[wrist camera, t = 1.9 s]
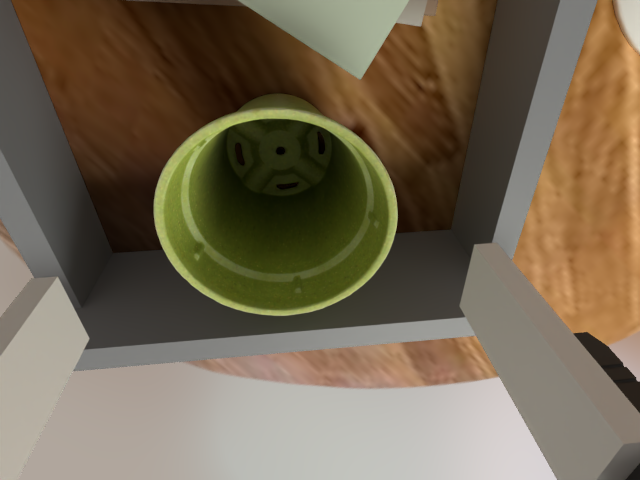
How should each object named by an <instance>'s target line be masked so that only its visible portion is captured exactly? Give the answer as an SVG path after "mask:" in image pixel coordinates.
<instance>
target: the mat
mask: <svg viewBox="0 0 640 480" xmlns="http://www.w3.org/2000/svg"><path fill="white" fill-rule="evenodd" d="M612 1H613V6H614V11H615V15H616V18H617V21H618V23H619V26H620V29H621V31H622V33H623V35H624V36H625V38H626V40H627V41H628V43H629V44H630V46H631V47H632V48H633V49H634V50H635V51H636V52H637V53H638V54H639V55H640V0H612Z"/></svg>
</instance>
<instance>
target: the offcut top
mask: <svg viewBox="0 0 640 480" xmlns="http://www.w3.org/2000/svg"><path fill="white" fill-rule="evenodd" d="M238 1H240V2H241V3H243V4H244V5H246V6H247V7H249V8H250V9H252V10H253V11H255V12H256V13H258V14H260V15H261V16H263V17H264V18H266V19H267V20H269V21H270V22H272V23H273V24H275V25H276V26H278V27H280V28H281V29H283V30H284V31H286V32H287V33H289V34H290V35H292V36H293V37H295V38H296V39H298V40H300V41H301V42H303V43H304V44H306V45H307V46H309V47H310V48H312V49H313V50H315V51H317V52H318V53H320V54H321V55H323V56H324V57H326V58H327V59H329V60H330V61H332V62H333V63H335V64H337V65H338V66H340V67H341V68H343V69H344V70H346V71H347V72H349V73H350V74H352V75H353V76H355V77H357V78H358V79H360V80H361V78H362V77H363V75H364V73H365V72H366V70H367V68H368V67H369V65H370V63H371V62H372V60H373V59H374V57H375V55H376V54H377V52H378V50H379V49H380V47H381V46H382V44H383V42H384V41H385V39H386V37H387V36H388V34H389V32H390V31H391V29H392V28H393V26H394V24H395V23H396V21H397V19H398V18H399V16H400V15H401V13H402V11H403V10H404V8H405V6H406V5H407V3H408V2H409V0H238Z"/></svg>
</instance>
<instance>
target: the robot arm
mask: <svg viewBox="0 0 640 480" xmlns="http://www.w3.org/2000/svg"><path fill="white" fill-rule="evenodd" d="M460 308H461V310H462V312H463V313H464V315H465V317H466V319H467V320H468V322H469V324H470V326H471V328H472V329H473V331H474V333H475V335H476V336H477V338H478V340H479V342H480V343H481V345H482V347H483V349H484V351H485V352H486V354H487V356H488V358H489V359H490V361H491V363H492V365H493V367H494V368H495V370H496V372H497V374H498V375H499V377H500V379H501V381H502V382H503V384H504V386H505V388H506V389H507V391H508V393H509V395H510V397H511V398H512V400H513V402H514V404H515V406H516V407H517V409H518V411H519V413H520V414H521V416H522V418H523V419H524V421H525V423H526V425H527V427H528V428H529V430H530V432H531V434H532V436H533V437H534V439H535V441H536V443H537V445H538V446H539V448H540V450H541V452H542V453H543V455H544V457H545V459H546V460H547V462H548V464H549V466H550V468H551V469H552V471H553V473H554V475H555V476H556V478H557V480H640V382H637V380H636V377H635V376H634V375H633V374H632V373H631V372H630V370H629V369H628V368H627V367H624V366H623V363H622V362H621V361H620V359H619V358H618V357H617V356H616V355H615V354H614V353H613V352H612V351H611V349H610V348H609V347H608V346H607V345H605V344H604V343H602V342H601V341H599V340H598V339H596V338H595V337H593V336H592V335H590V334H589V333H588V332H584V333H572V332H571V331H570V329H569V328H568V327H567V326H566V325H565V323H564V322H563V321H562V320H561V319H560V318H559V316H558V315H557V314H556V313H555V312H554V310H553V309H552V308H551V307H550V306H549V304H548V303H547V302H546V301H545V300H544V298H543V297H542V296H541V295H540V294H539V292H538V291H537V290H536V289H535V288H534V286H533V285H532V284H531V283H530V282H529V281H528V279H527V278H526V277H525V276H524V275H523V273H522V272H521V271H520V270H519V269H518V267H517V266H516V265H515V264H514V263H513V261H512V260H511V259H510V258H509V257H508V255H507V254H506V253H505V252H504V251H503V249H502V248H501V247H500V246H499V245H498V244H497V243H487V244H474V248H473V252H472V256H471V260H470V265H469V269H468V273H467V277H466V281H465V285H464V289H463V294H462V298H461V302H460ZM88 341H89V337H88V335H87V333H86V331H85V329H84V327H83V325H82V323H81V321H80V319H79V317H78V315H77V313H76V311H75V309H74V307H73V305H72V303H71V301H70V300H69V298H68V296H67V294H66V292H65V290H64V288H63V286H62V284H61V282H60V280H59V278H58V276H57V277H44V278H32V279H31V280H30V281H29V282H28V283H27V285H26V286H25V287H24V288H23V290H22V291H21V292H20V294H19V295H18V296H17V297H16V299H15V300H14V301H13V302H12V303H11V305H10V306H9V307H8V308H7V310H6V311H5V312H4V313H3V315H2V316H1V317H0V480H18V479H19V477H20V475H21V473H22V471H23V469H24V467H25V464H26V463H27V461H28V459H29V457H30V455H31V453H32V451H33V449H34V447H35V445H36V443H37V441H38V439H39V437H40V435H41V433H42V431H43V429H44V427H45V425H46V423H47V421H48V419H49V417H50V416H51V414H52V412H53V410H54V408H55V406H56V404H57V402H58V400H59V398H60V396H61V394H62V392H63V390H64V388H65V386H66V384H67V382H68V380H69V378H70V376H71V374H72V372H73V370H74V368H75V366H76V364H77V362H78V360H79V358H80V356H81V354H82V352H83V350H84V348H85V347H86V345H87V343H88Z"/></svg>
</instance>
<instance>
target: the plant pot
mask: <svg viewBox="0 0 640 480" xmlns="http://www.w3.org/2000/svg"><path fill="white" fill-rule="evenodd" d="M318 131H319V132H320V133H321V134H322V136H323V138H324V142H325V151H324V153H323V154H319V152H318V151H319V142H318V135H317V132H318ZM237 143H240V144H241V149H242V156H243V159H244V161H245V165H244V166H242V165H241V164H240V163H239V162H238V161H237V157H236V153H235V145H236V144H237ZM278 147H283V148H284V149H285V153H284V154H283V155H279V154H277V153H276V149H277V148H278ZM295 182H298V183H299V184H298V185H297V186H296V187H294V188H289V189H279V188H277V186H276V185H277V184H290V183H295ZM397 220H398V210H397V200H396V194H395V190H394V187H393V184H392V181H391V179H390V177H389V174H388V172H387V170H386V169H385V167H384V165H383V164H382V162H381V161H380V159H379V158H378V156H377V155H376V154H375V153H374V151H373V150H372V149H371V148H370V147H369V146H368V145H367V144H366V143H365V142H364V141H363V140H362V139H361V138H360V137H359V136H357V135H356V134H355V133H354V132H352V131H351V130H350V129H348V128H347V127H345V126H343V125H341V124H340V123H338V122H336V121H334V120H332V119H330V118H328V117H325V116H323V115H322V114H321V113H320V112H319V110H318V109H316V108H315V107H314V106H313V105H311V104H310V103H308V102H307V101H305V100H303V99H301V98H299V97H296V96H293V95H287V94H279V93H277V94H268V95H264V96H260V97H258V98H255V99H253V100H251V101H249V102H248V103H246V104H245V105H243V106H242V107H241V108H240V109H239V110H238V111H237V112H235V113H231V114H228V115H225V116H223V117H220V118H218V119H216V120H214V121H212V122H210V123H208V124H206V125H205V126H203V127H201V128H200V129H199V130H197V131H196V132H195V133H193V134H192V135H191V136H189V137H188V138H187V139H186V140H185V141H184V142H183V143H182V144H181V145H180V146H179V147H178V148H177V149H176V151H175V152H174V153H173V155H172V156H171V157H170V159H169V160H168V162H167V163H166V165H165V167H164V169H163V170H162V173H161V175H160V177H159V180H158V183H157V186H156V190H155V197H154V221H155V227H156V231H157V235H158V237H159V240H160V243H161V245H162V247H163V250H164V251H165V253H166V255H167V257H168V259H169V260H170V262H171V263H172V265H173V266H174V267H175V269H176V270H177V271H178V272H179V273H180V275H181V276H182V277H183V278H184V279H186V280H187V281H188V282H189V283H190V284H191V285H192V286H193V287H195V288H196V289H197V290H199V291H200V292H201V293H203V294H204V295H206V296H208V297H210V298H212V299H214V300H215V301H217V302H219V303H221V304H223V305H225V306H228V307H231V308H234V309H237V310H241V311H244V312H249V313H255V314H262V315H273V316H286V315H295V314H302V313H308V312H312V311H315V310H319V309H322V308H324V307H327V306H329V305H332V304H334V303H336V302H338V301H340V300H342V299H344V298H346V297H347V296H349V295H351V294H352V293H353V292H355V291H356V290H357V289H359V288H360V287H361V286H363V285H364V284H365V283H366V282H367V281H368V280H369V279H370V278H371V277H372V276H373V275H374V274H375V273H376V271H377V270H378V269H379V267H380V266H381V265H382V263H383V262H384V260H385V258H386V257H387V255H388V253H389V251H390V248H391V246H392V243H393V240H394V236H395V232H396V228H397Z"/></svg>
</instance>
